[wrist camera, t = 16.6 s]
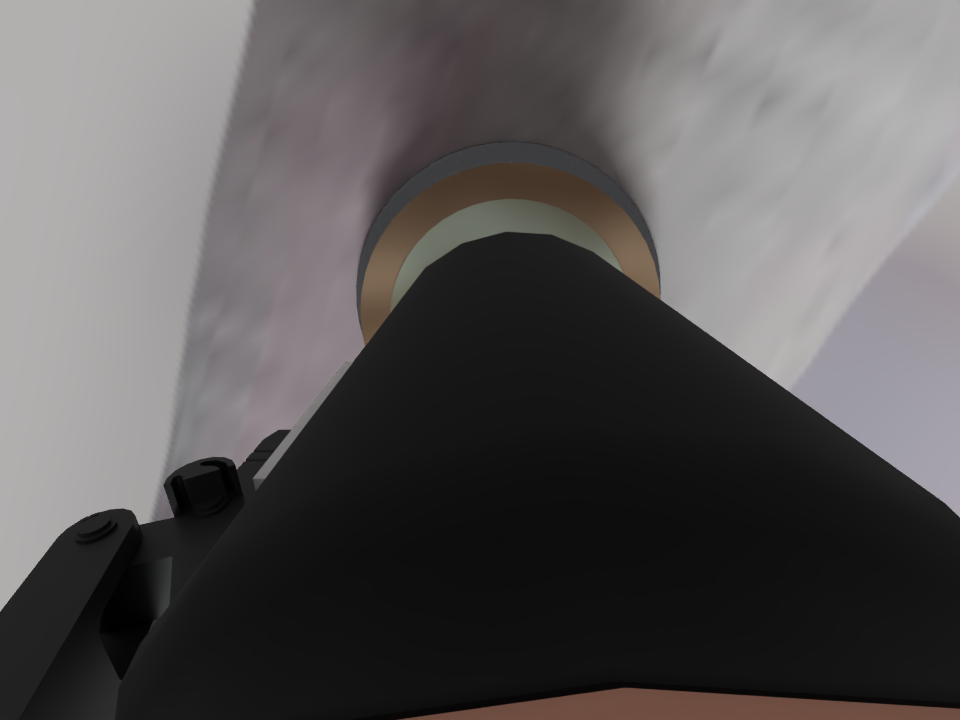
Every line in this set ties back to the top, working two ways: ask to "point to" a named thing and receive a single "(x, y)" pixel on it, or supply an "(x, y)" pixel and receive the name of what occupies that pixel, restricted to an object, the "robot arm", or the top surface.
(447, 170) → the wheel base
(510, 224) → the index wheel
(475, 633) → the coffee jar
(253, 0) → the top surface
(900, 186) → the top surface
